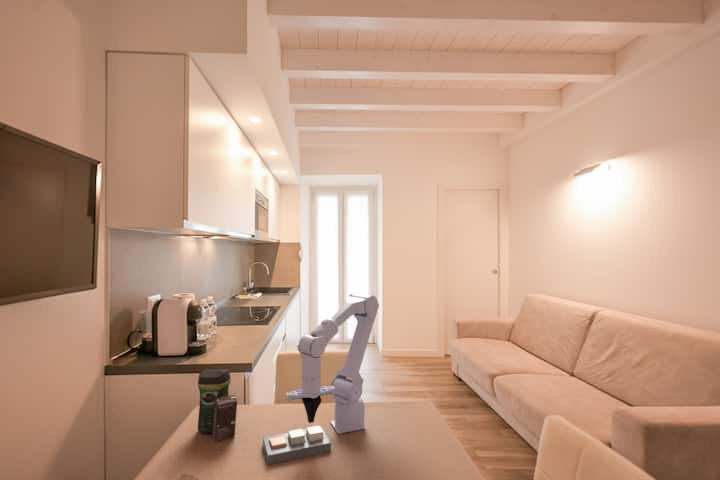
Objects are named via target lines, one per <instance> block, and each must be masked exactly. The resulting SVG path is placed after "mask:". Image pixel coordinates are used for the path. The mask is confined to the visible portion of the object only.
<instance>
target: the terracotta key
mask: <svg viewBox="0 0 720 480" xmlns="http://www.w3.org/2000/svg"><path fill="white" fill-rule="evenodd" d="M285 446H286V441H285V439H284V436H281V437H276V438H270V448H271V449H275V448H280V447H285Z"/></svg>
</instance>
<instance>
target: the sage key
mask: <svg viewBox="0 0 720 480" xmlns="http://www.w3.org/2000/svg"><path fill="white" fill-rule="evenodd" d="M303 430H304V429H302V428H297V429H293V430H288V433H289V434H288V441H289V443H290V446H291V445H296V444H301V443H305V434H304V432H303Z"/></svg>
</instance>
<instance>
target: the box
mask: <svg viewBox="0 0 720 480" xmlns="http://www.w3.org/2000/svg"><path fill="white" fill-rule="evenodd" d="M237 410H238V400H237V398H236V395H235V394H233V395H232V394H231V395H228V396H224V397H220V398H215V408H214V424H213V432H212V436H213V438H214V442H216V441H220V440H225V439H229V438H235V435H236V423H237Z"/></svg>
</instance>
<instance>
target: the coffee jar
mask: <svg viewBox="0 0 720 480" xmlns="http://www.w3.org/2000/svg"><path fill="white" fill-rule="evenodd" d="M231 380H232V379H231V373H230V369H223V368H221V369H219V368H218V369H217V368H216V369H215V368H214V369H204V370H202V371H201V372H200V373H199V374H198V380H197V381H198V382H197V387H198V391H199V407H198V408H199V410H198V419H197V430H198V431H199V432H200V433H213V424H214V408H215V398H220V397H224V396H229V387H230V384H231Z"/></svg>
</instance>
